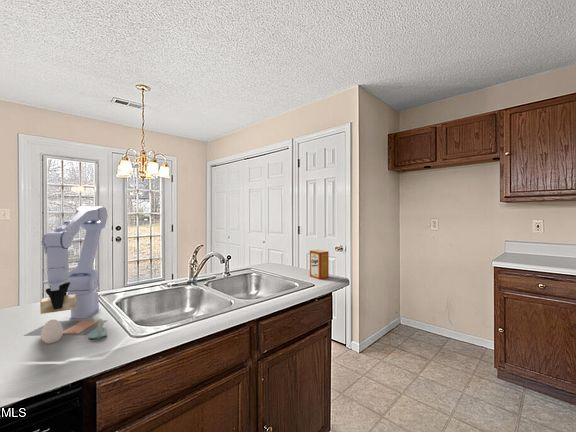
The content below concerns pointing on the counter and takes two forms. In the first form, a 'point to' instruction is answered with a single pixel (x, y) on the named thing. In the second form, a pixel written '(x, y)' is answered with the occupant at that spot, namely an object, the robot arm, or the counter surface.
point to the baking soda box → (319, 264)
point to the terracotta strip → (79, 327)
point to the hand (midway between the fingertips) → (59, 306)
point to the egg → (51, 331)
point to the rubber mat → (65, 326)
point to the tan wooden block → (68, 304)
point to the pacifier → (97, 332)
